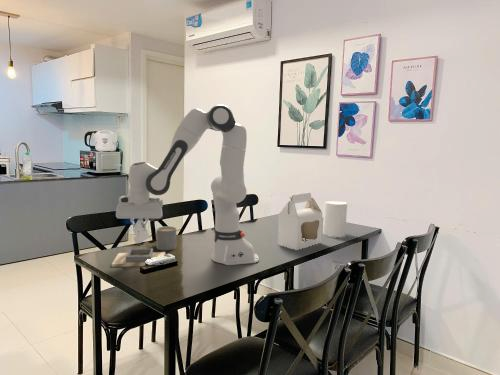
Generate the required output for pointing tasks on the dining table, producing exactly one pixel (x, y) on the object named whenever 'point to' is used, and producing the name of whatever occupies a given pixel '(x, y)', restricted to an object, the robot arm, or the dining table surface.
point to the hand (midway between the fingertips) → (139, 227)
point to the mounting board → (121, 262)
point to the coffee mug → (166, 238)
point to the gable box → (300, 223)
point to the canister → (334, 218)
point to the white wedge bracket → (140, 232)
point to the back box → (139, 258)
